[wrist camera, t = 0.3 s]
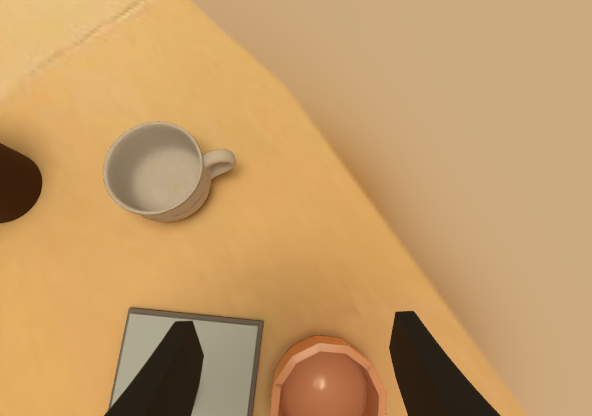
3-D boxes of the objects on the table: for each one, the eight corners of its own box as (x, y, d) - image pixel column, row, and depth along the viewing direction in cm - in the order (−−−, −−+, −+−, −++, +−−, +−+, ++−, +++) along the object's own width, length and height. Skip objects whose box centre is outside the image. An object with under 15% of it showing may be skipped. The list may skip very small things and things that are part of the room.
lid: (240, 468, 35) (236, 492, 31) (103, 456, 35) (80, 479, 31) (258, 325, 38) (255, 331, 34) (132, 312, 38) (115, 317, 34)
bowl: (369, 450, 37) (383, 476, 32) (266, 440, 37) (264, 466, 32) (374, 340, 40) (388, 349, 35) (278, 330, 39) (278, 339, 34)
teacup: (130, 226, 41) (95, 215, 33) (136, 147, 43) (105, 118, 35) (240, 224, 42) (232, 213, 34) (241, 146, 44) (233, 118, 36)
